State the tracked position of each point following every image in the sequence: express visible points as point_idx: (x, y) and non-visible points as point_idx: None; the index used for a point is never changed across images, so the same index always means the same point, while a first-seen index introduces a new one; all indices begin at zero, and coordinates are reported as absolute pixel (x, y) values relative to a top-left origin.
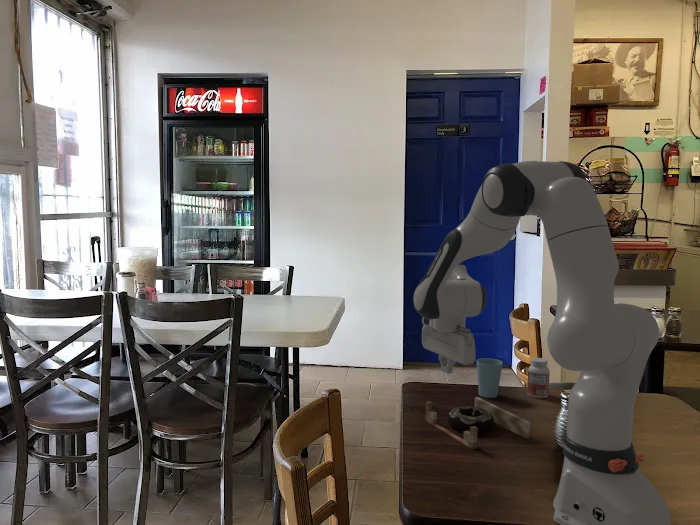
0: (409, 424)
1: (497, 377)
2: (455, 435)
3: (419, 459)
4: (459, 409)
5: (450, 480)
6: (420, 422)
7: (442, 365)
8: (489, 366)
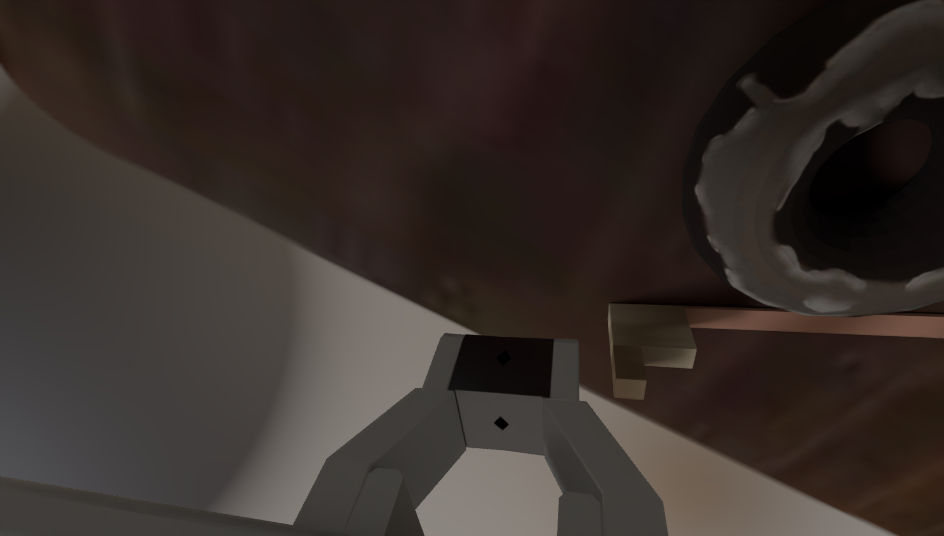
0: None
1: None
2: (890, 318)
3: (932, 514)
4: (783, 239)
5: None
6: None
7: (466, 445)
8: None
